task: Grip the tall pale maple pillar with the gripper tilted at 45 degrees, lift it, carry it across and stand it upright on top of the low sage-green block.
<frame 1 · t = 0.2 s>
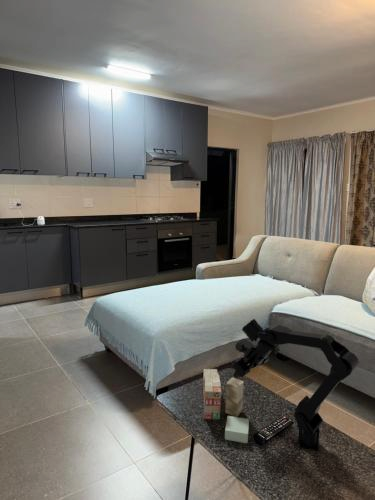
hand: (241, 372, 139), 15 cm above the table, tool tilted 35°, fingers open, 9 cm apart
sage base block: (236, 434, 126), on the table
maple pillar: (233, 411, 138), on the table
stack of blocks: (210, 403, 144), on the table
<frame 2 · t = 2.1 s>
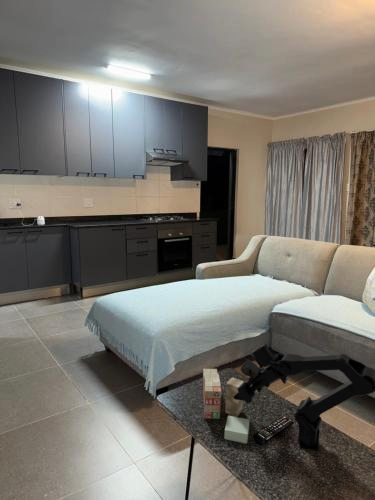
hand: (239, 392, 135), 9 cm above the table, tool tilted 45°, fingers open, 9 cm apart
nothing on the table moved.
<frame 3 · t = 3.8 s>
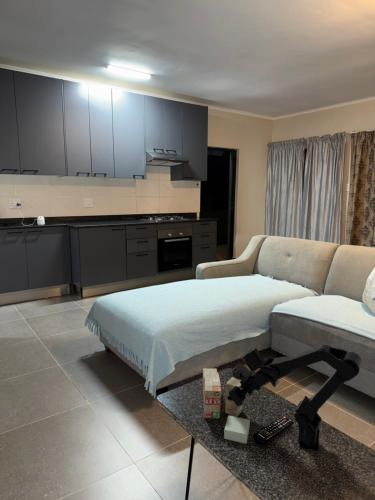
hand: (231, 395, 138), 7 cm above the table, tool tilted 45°, fingers closed on maple pillar, 5 cm apart
maple pillar: (233, 411, 138), on the table, touching gripper
everything else where it was.
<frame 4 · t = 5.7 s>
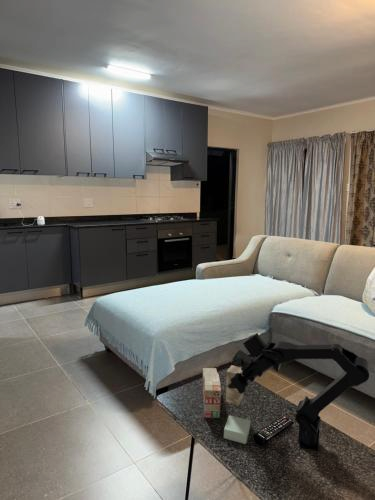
hand: (231, 383, 134), 13 cm above the table, tool tilted 45°, fingers closed on maple pillar, 5 cm apart
maple pillar: (234, 400, 135), point 7 cm above the table, touching gripper
everything else where it was.
when the fingers open (12 cm above the table, at t = 7.3 s): maple pillar drops 1 cm, point 4 cm above the table.
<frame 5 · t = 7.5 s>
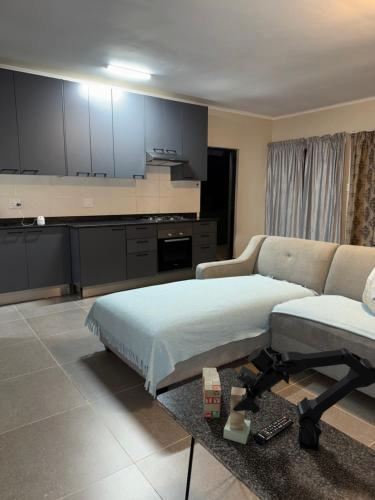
hand: (234, 403, 124), 12 cm above the table, tool tilted 45°, fingers open, 7 cm apart
maple pillar: (237, 424, 125), point 4 cm above the table
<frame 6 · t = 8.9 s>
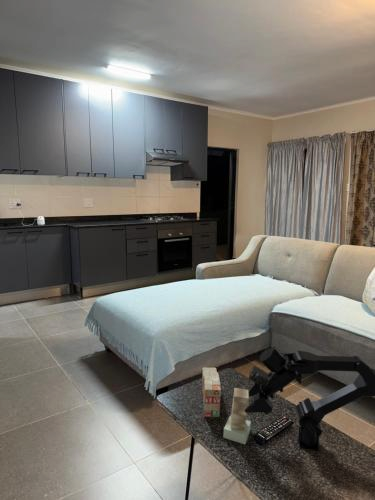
hand: (246, 403, 123), 13 cm above the table, tool tilted 45°, fingers open, 9 cm apart
sage base block: (237, 434, 126), on the table, touching maple pillar
maple pillar: (237, 424, 125), point 4 cm above the table, touching sage base block
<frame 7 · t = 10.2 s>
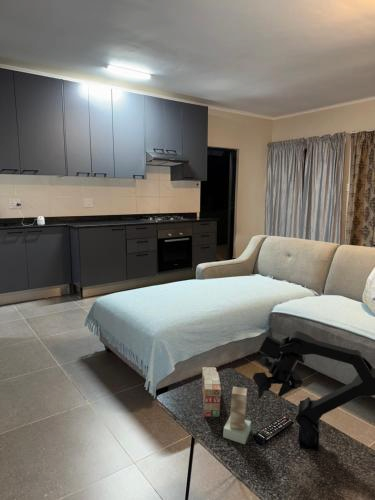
hand: (269, 396, 126), 13 cm above the table, tool tilted 20°, fingers open, 9 cm apart
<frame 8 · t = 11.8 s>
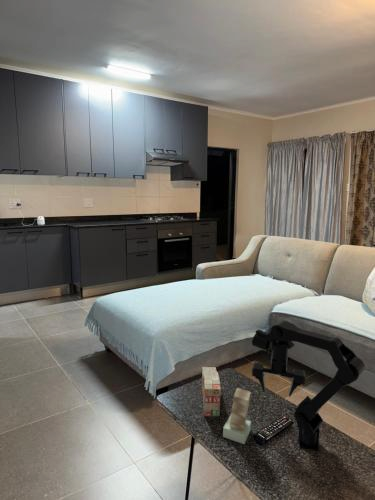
hand: (276, 393, 129), 13 cm above the table, tool pointing down, fingers open, 9 cm apart
at the end: maple pillar 0.4 cm off-centre on the sage base block, point 4.2 cm above the sage base block's base; maple pillar tilted 4°; maple pillar touching sage base block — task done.
